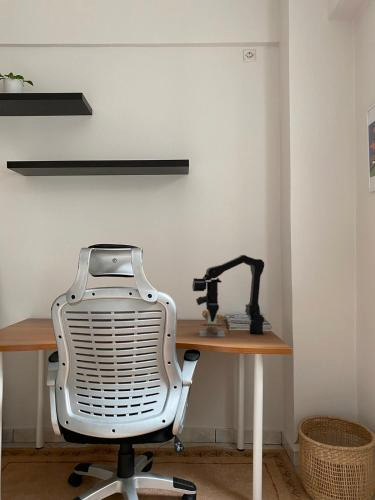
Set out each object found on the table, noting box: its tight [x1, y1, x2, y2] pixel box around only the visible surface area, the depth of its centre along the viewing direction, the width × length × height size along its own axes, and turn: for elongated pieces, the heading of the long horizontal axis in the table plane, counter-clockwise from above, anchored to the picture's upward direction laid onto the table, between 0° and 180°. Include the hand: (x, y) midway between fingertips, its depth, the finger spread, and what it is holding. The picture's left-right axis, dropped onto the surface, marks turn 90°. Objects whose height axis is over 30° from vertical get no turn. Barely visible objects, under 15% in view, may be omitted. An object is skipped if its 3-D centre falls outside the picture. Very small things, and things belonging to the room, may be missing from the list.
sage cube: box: [207, 313, 218, 325], centre depth 201 cm, size 4×4×4 cm
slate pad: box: [199, 330, 226, 337], centre depth 201 cm, size 13×14×1 cm
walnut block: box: [205, 326, 219, 335], centre depth 201 cm, size 6×6×3 cm
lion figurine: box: [202, 309, 227, 327], centre depth 228 cm, size 15×5×9 cm, turn 84°
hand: (212, 320), depth 201 cm, fingers closed on sage cube, 4 cm apart
